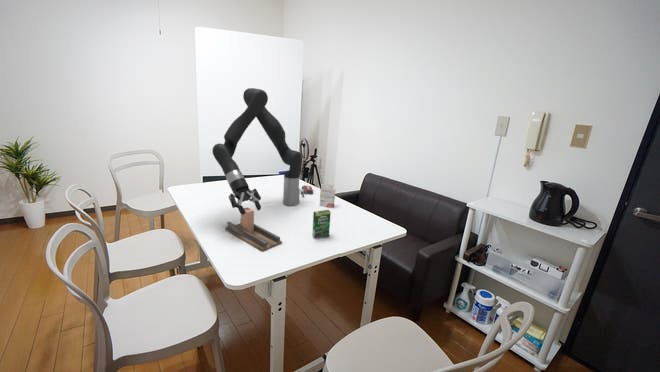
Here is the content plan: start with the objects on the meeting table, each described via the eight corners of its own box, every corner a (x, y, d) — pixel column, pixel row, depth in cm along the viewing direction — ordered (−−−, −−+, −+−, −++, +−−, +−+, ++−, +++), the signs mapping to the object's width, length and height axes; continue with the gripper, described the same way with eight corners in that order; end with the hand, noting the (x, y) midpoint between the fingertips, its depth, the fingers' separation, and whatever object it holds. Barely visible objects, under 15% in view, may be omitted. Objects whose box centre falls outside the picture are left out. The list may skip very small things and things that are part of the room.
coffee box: (313, 238, 138) (315, 213, 134) (311, 236, 140) (313, 210, 137) (329, 236, 141) (331, 211, 138) (326, 234, 144) (329, 209, 140)
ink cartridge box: (334, 205, 184) (336, 183, 179) (332, 208, 179) (334, 185, 175) (321, 203, 185) (323, 181, 181) (319, 206, 181) (320, 183, 176)
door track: (244, 223, 147) (244, 217, 146) (282, 243, 131) (282, 236, 130) (225, 229, 139) (224, 223, 138) (262, 251, 123) (262, 244, 122)
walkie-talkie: (298, 189, 212) (301, 198, 193) (299, 183, 211) (302, 191, 192) (310, 189, 214) (314, 198, 195) (311, 183, 212) (315, 192, 194)
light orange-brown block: (247, 228, 140) (247, 207, 137) (253, 232, 137) (253, 210, 134) (240, 230, 137) (240, 209, 134) (247, 234, 134) (247, 212, 131)
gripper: (226, 179, 128) (242, 211, 124) (253, 175, 138) (268, 204, 135) (220, 188, 132) (234, 219, 129) (246, 183, 143) (260, 211, 140)
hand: (252, 211), depth 132 cm, fingers open, 8 cm apart
